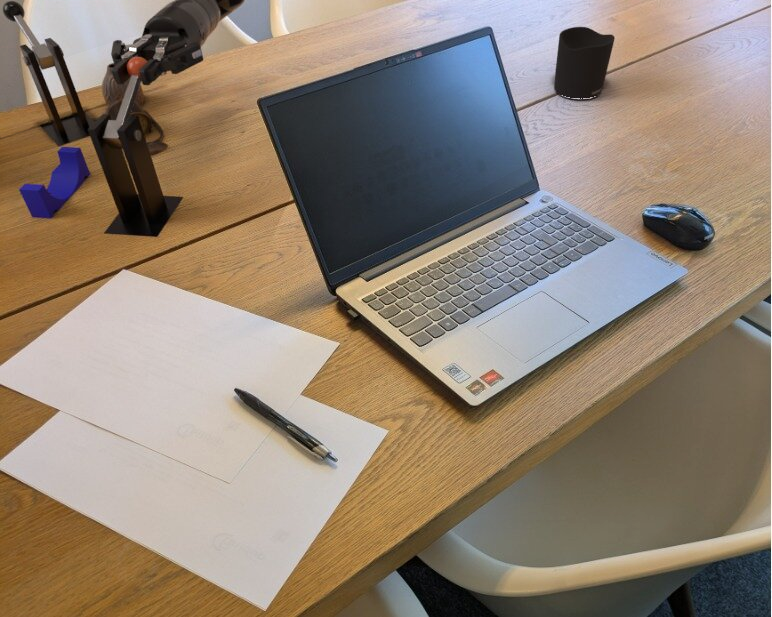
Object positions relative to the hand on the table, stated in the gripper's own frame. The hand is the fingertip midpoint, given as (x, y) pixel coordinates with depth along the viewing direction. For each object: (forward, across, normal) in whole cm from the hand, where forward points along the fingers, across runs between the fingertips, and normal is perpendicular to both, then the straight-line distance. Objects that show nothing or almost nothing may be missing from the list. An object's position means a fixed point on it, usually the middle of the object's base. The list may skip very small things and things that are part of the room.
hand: (130, 77), depth 89 cm
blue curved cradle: (+3, -16, +19) cm, 25 cm away
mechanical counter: (-14, -11, +19) cm, 26 cm away
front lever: (+1, 0, +4) cm, 4 cm away
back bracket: (-17, -24, +18) cm, 35 cm away
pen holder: (-41, +64, +19) cm, 78 cm away
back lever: (-21, -29, +3) cm, 35 cm away
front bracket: (+7, 0, +19) cm, 20 cm away
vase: (-26, -18, +18) cm, 37 cm away
